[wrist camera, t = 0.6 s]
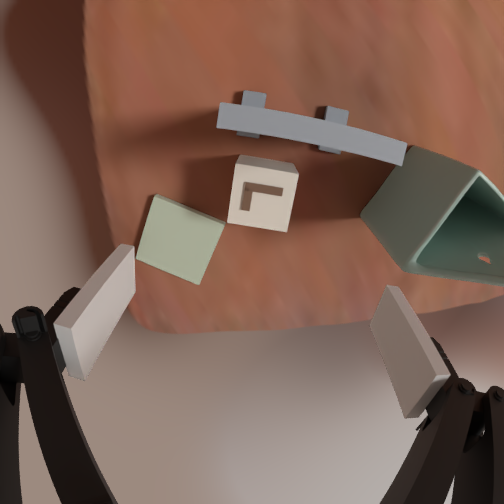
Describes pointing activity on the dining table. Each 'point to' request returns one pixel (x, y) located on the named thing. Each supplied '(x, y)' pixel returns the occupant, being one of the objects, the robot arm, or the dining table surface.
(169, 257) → the pad
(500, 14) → the dining table surface
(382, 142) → the board
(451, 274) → the planter
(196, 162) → the dining table surface
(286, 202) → the letter cube
